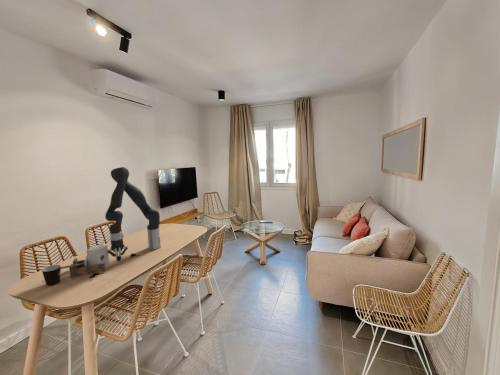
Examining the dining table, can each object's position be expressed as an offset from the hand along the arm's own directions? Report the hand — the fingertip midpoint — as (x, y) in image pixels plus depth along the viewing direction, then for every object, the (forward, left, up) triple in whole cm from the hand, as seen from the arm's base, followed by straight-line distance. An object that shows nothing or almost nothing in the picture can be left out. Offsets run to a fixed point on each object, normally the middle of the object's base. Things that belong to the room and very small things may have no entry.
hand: (119, 260), depth 160 cm
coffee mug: (+35, +11, -2) cm, 37 cm away
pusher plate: (+27, 0, -1) cm, 27 cm away
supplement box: (+12, 0, -2) cm, 12 cm away
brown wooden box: (+17, 0, -2) cm, 17 cm away
